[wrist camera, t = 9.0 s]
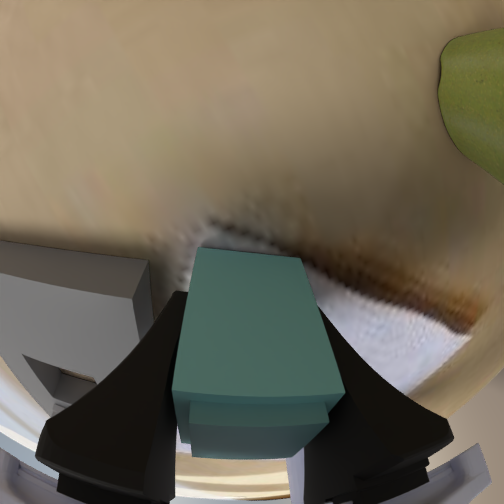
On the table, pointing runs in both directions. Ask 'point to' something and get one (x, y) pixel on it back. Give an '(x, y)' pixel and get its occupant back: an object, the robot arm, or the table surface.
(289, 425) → the plug
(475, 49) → the plant pot
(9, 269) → the socket plate
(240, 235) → the table surface
